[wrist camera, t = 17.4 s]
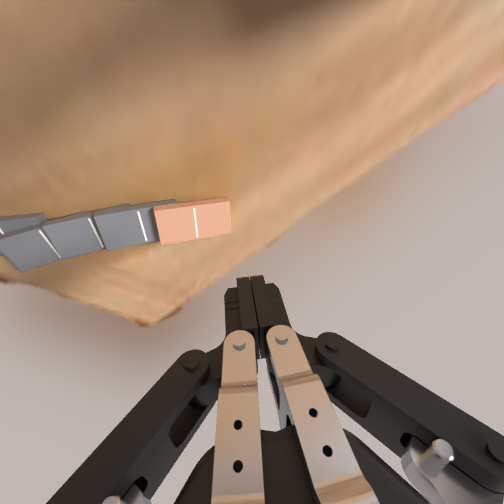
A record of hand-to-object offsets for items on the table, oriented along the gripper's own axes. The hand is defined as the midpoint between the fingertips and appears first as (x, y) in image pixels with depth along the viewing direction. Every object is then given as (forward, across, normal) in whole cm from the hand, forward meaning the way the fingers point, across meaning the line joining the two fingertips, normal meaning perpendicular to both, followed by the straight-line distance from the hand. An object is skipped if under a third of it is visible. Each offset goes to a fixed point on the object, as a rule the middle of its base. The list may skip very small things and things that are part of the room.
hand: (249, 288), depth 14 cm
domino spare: (+23, +1, +6) cm, 24 cm away
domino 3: (+23, +14, +5) cm, 27 cm away
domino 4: (+22, +20, +6) cm, 31 cm away
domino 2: (+23, +8, +5) cm, 25 cm away
